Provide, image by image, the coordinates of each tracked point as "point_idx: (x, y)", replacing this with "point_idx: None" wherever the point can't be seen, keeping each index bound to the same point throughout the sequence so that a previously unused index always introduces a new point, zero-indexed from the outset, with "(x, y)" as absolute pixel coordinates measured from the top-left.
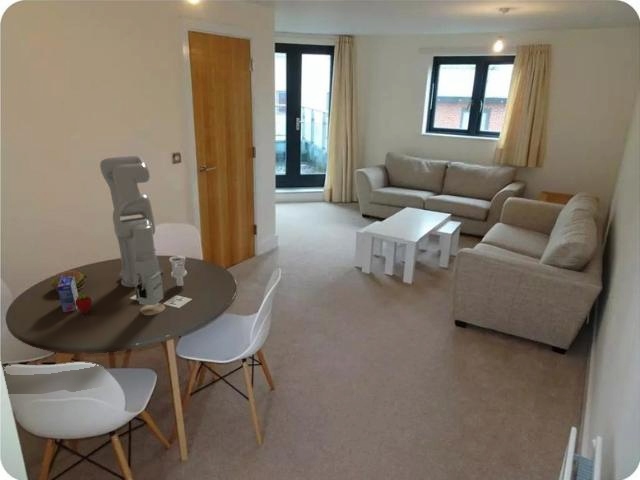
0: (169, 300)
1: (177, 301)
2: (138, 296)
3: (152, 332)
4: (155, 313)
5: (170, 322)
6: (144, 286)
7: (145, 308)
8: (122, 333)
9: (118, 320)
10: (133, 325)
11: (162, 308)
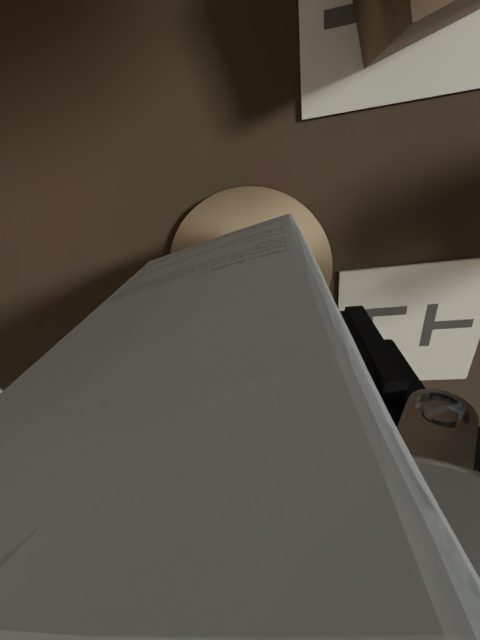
0: (403, 276)
1: (406, 330)
2: (116, 291)
3: None
4: None
5: None
6: None
7: (221, 233)
8: (11, 326)
9: (27, 191)
10: (79, 315)
11: None
